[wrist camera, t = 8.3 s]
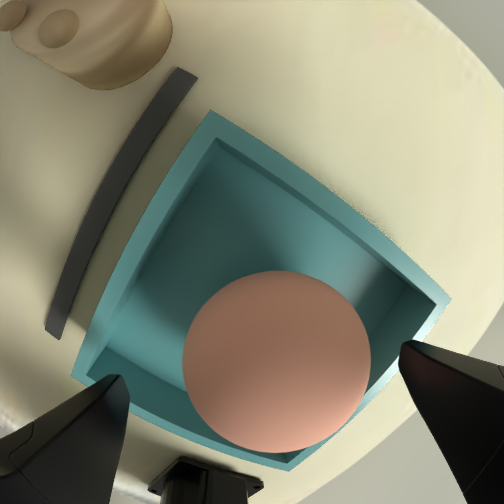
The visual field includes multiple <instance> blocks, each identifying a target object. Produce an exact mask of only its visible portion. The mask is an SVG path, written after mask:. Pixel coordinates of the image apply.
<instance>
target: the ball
mask: <svg viewBox="0 0 504 504" xmlns="http://www.w3.org/2000/svg"><path fill="white" fill-rule="evenodd" d="M370 367H371V353H370V344H369V340H368V336H367V333H366V330H365V327H364V325H363V323H362V321H361V319H360V317H359V315H358V314H357V312H356V311H355V309H354V308H353V306H352V305H351V304H350V303H349V302H348V301H347V300H346V298H345V297H343V296H342V295H341V294H340V293H339V292H338V291H337V290H335V289H334V288H332V287H331V286H329V285H328V284H326V283H324V282H322V281H321V280H319V279H316V278H314V277H311V276H309V275H305V274H302V273H298V272H291V271H265V272H260V273H255V274H251V275H248V276H245V277H242V278H240V279H237V280H235V281H233V282H231V283H229V284H228V285H226V286H225V287H223V288H222V289H220V290H219V291H218V292H217V293H215V294H214V295H213V296H212V297H211V298H210V299H209V300H208V301H207V302H206V303H205V304H204V305H203V306H202V308H201V309H200V310H199V312H198V313H197V315H196V316H195V318H194V320H193V322H192V324H191V326H190V328H189V331H188V334H187V336H186V339H185V344H184V348H183V357H182V370H183V378H184V383H185V387H186V390H187V393H188V395H189V398H190V400H191V402H192V404H193V406H194V408H195V409H196V411H197V412H198V414H199V415H200V416H201V418H202V419H203V420H204V421H205V422H206V423H207V425H208V426H209V427H210V428H212V429H213V430H214V431H215V432H216V433H218V434H219V435H220V436H222V437H223V438H225V439H227V440H228V441H230V442H232V443H234V444H236V445H239V446H241V447H244V448H247V449H250V450H255V451H259V452H269V453H282V452H290V451H296V450H300V449H303V448H306V447H309V446H312V445H314V444H316V443H318V442H320V441H322V440H324V439H326V438H328V437H329V436H330V435H332V434H333V433H335V432H336V431H337V430H338V429H339V428H340V427H342V426H343V425H344V424H345V423H346V422H347V420H348V419H349V418H350V417H351V415H352V414H353V413H354V412H355V410H356V408H357V407H358V405H359V404H360V402H361V400H362V398H363V395H364V393H365V391H366V387H367V384H368V380H369V374H370Z"/></svg>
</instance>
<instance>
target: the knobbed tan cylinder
mask: <svg viewBox="0 0 504 504" xmlns="http://www.w3.org/2000/svg"><path fill="white" fill-rule="evenodd" d="M10 30H11V37H12V40H13V42H14V44H15V45H16V46H17V47H18V48H20V49H22V50H24V51H26V52H27V53H29V54H31V55H33V56H35V57H36V58H38V59H40V60H42V61H44V62H45V63H47V64H49V65H51V66H52V67H54V68H56V69H58V70H59V71H61V72H63V73H64V74H66V75H68V76H70V77H71V78H73V79H75V80H76V81H78V82H80V83H81V84H83V85H85V86H86V87H89V88H91V89H96V90H109V89H115V88H118V87H122V86H124V85H127V84H129V83H131V82H133V81H135V80H137V79H138V78H140V77H141V76H143V75H144V74H146V73H147V72H148V71H149V70H150V69H151V68H153V67H154V66H155V65H156V64H157V62H158V61H159V60H160V59H161V58H162V56H163V55H164V53H165V52H166V50H167V48H168V46H169V44H170V41H171V38H172V31H173V27H172V21H171V18H170V15H169V13H168V10H167V8H166V5H165V3H164V0H12V1H9V2H7V3H6V4H5V5H3V6H2V7H1V8H0V31H10Z"/></svg>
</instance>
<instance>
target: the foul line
mask: <svg viewBox="0 0 504 504" xmlns="http://www.w3.org/2000/svg"><path fill="white" fill-rule="evenodd" d="M197 79H198V78H197V77H196V76H194V75H192V74H190V73H188V72H187V71H185V70H183V69H181V68H179V67H177V68H176V70H175V71H174V72H173V73H172V75H171V76H170V77H169V78H168V80H167V81H166V82H165V84H164V85H163V86H162V88H161V89H160V90H159V92H158V93H157V95H156V96H155V97H154V99H153V100H152V102H151V103H150V104H149V106H148V107H147V109H146V110H145V112H144V113H143V115H142V116H141V118H140V119H139V121H138V122H137V124H136V125H135V127H134V128H133V130H132V131H131V133H130V135H129V136H128V138H127V139H126V141H125V143H124V144H123V146H122V148H121V149H120V151H119V153H118V154H117V156H116V158H115V160H114V161H113V163H112V165H111V167H110V169H109V170H108V172H107V174H106V176H105V178H104V180H103V182H102V183H101V185H100V187H99V189H98V191H97V193H96V195H95V197H94V199H93V201H92V203H91V205H90V207H89V210H88V212H87V214H86V216H85V218H84V220H83V223H82V225H81V227H80V229H79V232H78V234H77V236H76V239H75V241H74V244H73V246H72V248H71V251H70V254H69V256H68V259H67V261H66V264H65V267H64V269H63V272H62V275H61V278H60V281H59V284H58V286H57V289H56V293H55V296H54V299H53V302H52V305H51V309H50V312H49V315H48V319H47V323H46V326H45V330H46V331H47V332H49V333H50V334H51V335H52V336H54V337H55V338H56V339H58V340H60V339H61V336H62V332H63V329H64V326H65V323H66V320H67V317H68V314H69V312H70V309H71V306H72V303H73V300H74V298H75V295H76V292H77V290H78V287H79V285H80V282H81V280H82V277H83V275H84V272H85V270H86V268H87V265H88V263H89V261H90V258H91V256H92V254H93V252H94V249H95V247H96V245H97V243H98V241H99V238H100V236H101V234H102V232H103V230H104V228H105V226H106V224H107V222H108V220H109V218H110V216H111V214H112V212H113V210H114V208H115V206H116V204H117V202H118V201H119V199H120V197H121V195H122V193H123V191H124V189H125V188H126V186H127V184H128V182H129V181H130V179H131V177H132V175H133V174H134V172H135V170H136V169H137V167H138V165H139V163H140V162H141V160H142V159H143V157H144V155H145V154H146V152H147V150H148V149H149V147H150V146H151V144H152V143H153V141H154V139H155V138H156V136H157V135H158V133H159V132H160V130H161V129H162V127H163V126H164V124H165V123H166V121H167V120H168V119H169V117H170V116H171V114H172V113H173V111H174V110H175V109H176V107H177V106H178V104H179V103H180V102H181V100H182V99H183V98H184V96H185V95H186V94H187V92H188V91H189V90H190V88H191V87H192V86H193V84H194V83H195V82H196V81H197Z"/></svg>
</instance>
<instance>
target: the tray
mask: <svg viewBox="0 0 504 504" xmlns="http://www.w3.org/2000/svg"><path fill="white" fill-rule="evenodd" d="M265 271H291V272H298V273H302V274H305V275H309V276H311V277H314V278H316V279H319V280H321V281H322V282H324V283H326V284H328V285H329V286H331V287H332V288H334V289H335V290H337V291H338V292H339V293H340V294H341V295H342V296H343V297H345V298H346V300H347V301H348V302H349V303H350V304H351V305H352V306H353V308H354V309H355V311H356V312H357V314H358V315H359V317H360V319H361V321H362V323H363V325H364V327H365V330H366V333H367V336H368V340H369V344H370V353H371V367H370V374H369V380H368V384H367V387H366V391H365V393H364V395H363V398H362V400H361V402H360V404H359V405H358V407H357V408H356V410H355V412H354V413H353V414H352V415H351V417H350V418H349V419H348V420H347V422H346V423H345V424H344V425H343V426H342V427H340V428H339V429H338V430H337V431H336V432H335V433H333V434H332V435H330V436H329V437H328V438H326V439H324V440H322V441H320V442H318V443H316V444H314V445H312V446H309V447H306V448H303V449H300V450H296V451H290V452H282V453H269V452H259V451H255V450H250V449H247V448H244V447H241V446H239V445H236V444H234V443H232V442H230V441H228V440H227V439H225V438H223V437H222V436H220V435H219V434H218V433H216V432H215V431H214V430H213V429H212V428H210V427H209V426H208V425H207V423H206V422H205V421H204V420H203V419H202V418H201V416H200V415H199V414H198V412H197V411H196V409H195V408H194V406H193V404H192V402H191V400H190V398H189V395H188V393H187V390H186V387H185V383H184V378H183V370H182V357H183V348H184V344H185V339H186V336H187V334H188V331H189V328H190V326H191V324H192V322H193V320H194V318H195V316H196V315H197V313H198V312H199V310H200V309H201V308H202V306H203V305H204V304H205V303H206V302H207V301H208V300H209V299H210V298H211V297H212V296H213V295H214V294H215V293H217V292H218V291H219V290H220V289H222V288H223V287H225V286H226V285H228V284H229V283H231V282H233V281H235V280H237V279H240V278H242V277H245V276H248V275H251V274H255V273H260V272H265ZM451 299H452V298H451V297H450V296H449V295H448V294H447V293H446V292H445V291H444V290H443V289H442V288H441V287H440V286H439V285H438V284H437V283H436V282H435V281H434V280H433V279H432V278H431V277H430V276H429V275H428V274H427V273H426V272H425V271H424V270H422V269H421V268H420V267H419V266H418V265H417V264H416V263H415V262H414V261H413V260H412V259H411V258H410V257H409V256H408V255H406V254H405V253H404V252H403V251H402V250H401V249H400V248H399V247H398V246H396V245H395V244H394V243H393V242H392V241H391V240H390V239H389V238H387V237H386V236H385V235H384V234H383V233H382V232H380V231H379V230H378V229H377V228H376V227H375V226H373V225H372V224H371V223H370V222H369V221H368V220H366V219H365V218H364V217H363V216H361V215H360V214H359V213H358V212H357V211H355V210H354V209H353V208H352V207H350V206H349V205H348V204H347V203H345V202H344V201H343V200H342V199H340V198H339V197H338V196H337V195H335V194H334V193H333V192H331V191H330V190H329V189H327V188H326V187H325V186H323V185H322V184H321V183H320V182H318V181H317V180H315V179H314V178H313V177H311V176H310V175H309V174H307V173H306V172H305V171H303V170H302V169H300V168H299V167H298V166H296V165H295V164H293V163H292V162H291V161H289V160H288V159H286V158H285V157H284V156H282V155H281V154H279V153H278V152H276V151H275V150H273V149H272V148H270V147H269V146H267V145H266V144H264V143H263V142H261V141H260V140H258V139H257V138H255V137H254V136H252V135H251V134H249V133H248V132H246V131H244V130H243V129H241V128H240V127H238V126H237V125H235V124H233V123H232V122H230V121H229V120H227V119H225V118H224V117H222V116H220V115H219V114H217V113H215V112H214V111H212V110H210V112H209V113H208V114H207V116H206V117H205V118H204V120H203V121H202V123H201V124H200V125H199V127H198V128H197V130H196V131H195V133H194V134H193V135H192V137H191V138H190V140H189V141H188V143H187V144H186V146H185V147H184V149H183V150H182V152H181V153H180V155H179V156H178V158H177V159H176V161H175V162H174V164H173V166H172V167H171V169H170V170H169V172H168V174H167V175H166V177H165V178H164V180H163V182H162V183H161V185H160V187H159V188H158V190H157V192H156V193H155V195H154V197H153V198H152V200H151V202H150V203H149V205H148V207H147V209H146V210H145V212H144V214H143V216H142V218H141V219H140V221H139V223H138V225H137V227H136V228H135V230H134V232H133V234H132V236H131V238H130V240H129V242H128V243H127V245H126V247H125V249H124V251H123V253H122V255H121V257H120V259H119V261H118V263H117V265H116V267H115V269H114V271H113V273H112V276H111V278H110V280H109V282H108V284H107V286H106V288H105V291H104V293H103V295H102V297H101V299H100V302H99V304H98V306H97V309H96V311H95V313H94V316H93V318H92V321H91V323H90V325H89V328H88V330H87V333H86V335H85V338H84V340H83V343H82V346H81V348H80V351H79V354H78V357H77V359H76V362H75V365H74V368H73V371H72V374H71V376H72V377H74V378H75V379H77V380H78V381H80V382H81V383H83V384H84V385H86V386H87V387H89V386H91V385H92V384H94V383H96V382H97V381H99V380H100V379H102V378H103V377H105V376H107V375H108V374H120V375H122V376H123V378H124V381H125V383H126V386H127V388H128V391H129V393H130V405H129V412H131V413H133V414H135V415H137V416H139V417H141V418H142V419H144V420H146V421H148V422H150V423H152V424H155V425H157V426H159V427H161V428H163V429H165V430H167V431H169V432H172V433H174V434H176V435H178V436H181V437H183V438H186V439H188V440H190V441H193V442H195V443H198V444H200V445H203V446H206V447H208V448H211V449H214V450H216V451H219V452H222V453H225V454H228V455H231V456H234V457H237V458H240V459H244V460H247V461H250V462H254V463H257V464H261V465H265V466H268V467H272V468H276V469H280V470H285V471H290V470H291V469H293V468H294V467H296V466H297V465H298V464H300V463H301V462H302V461H303V460H305V459H306V458H307V457H309V456H310V455H311V454H312V453H314V452H315V451H316V450H317V449H319V448H320V447H321V446H322V445H323V444H325V443H326V442H327V441H328V440H329V439H330V438H332V437H333V436H334V435H335V434H336V433H337V432H338V431H340V430H341V429H342V428H343V427H344V426H345V425H346V424H347V423H348V422H349V421H350V420H352V419H353V418H354V417H355V416H356V415H357V414H358V413H359V412H360V411H361V410H362V409H363V408H364V407H365V406H366V405H367V404H368V403H369V402H370V401H371V400H372V399H373V398H374V397H375V396H376V395H377V394H378V392H379V391H380V390H381V389H382V388H383V387H384V386H385V385H386V384H387V383H388V382H389V381H390V379H391V378H392V377H393V376H394V375H395V374H396V373H397V371H398V370H399V368H398V359H399V354H400V349H401V345H402V343H403V342H405V341H408V340H412V339H414V340H417V341H420V342H422V341H423V339H424V338H425V337H426V335H427V334H428V333H429V331H430V330H431V328H432V327H433V326H434V324H435V323H436V321H437V320H438V319H439V317H440V316H441V314H442V313H443V311H444V310H445V308H446V307H447V305H448V304H449V302H450V301H451Z"/></svg>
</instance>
